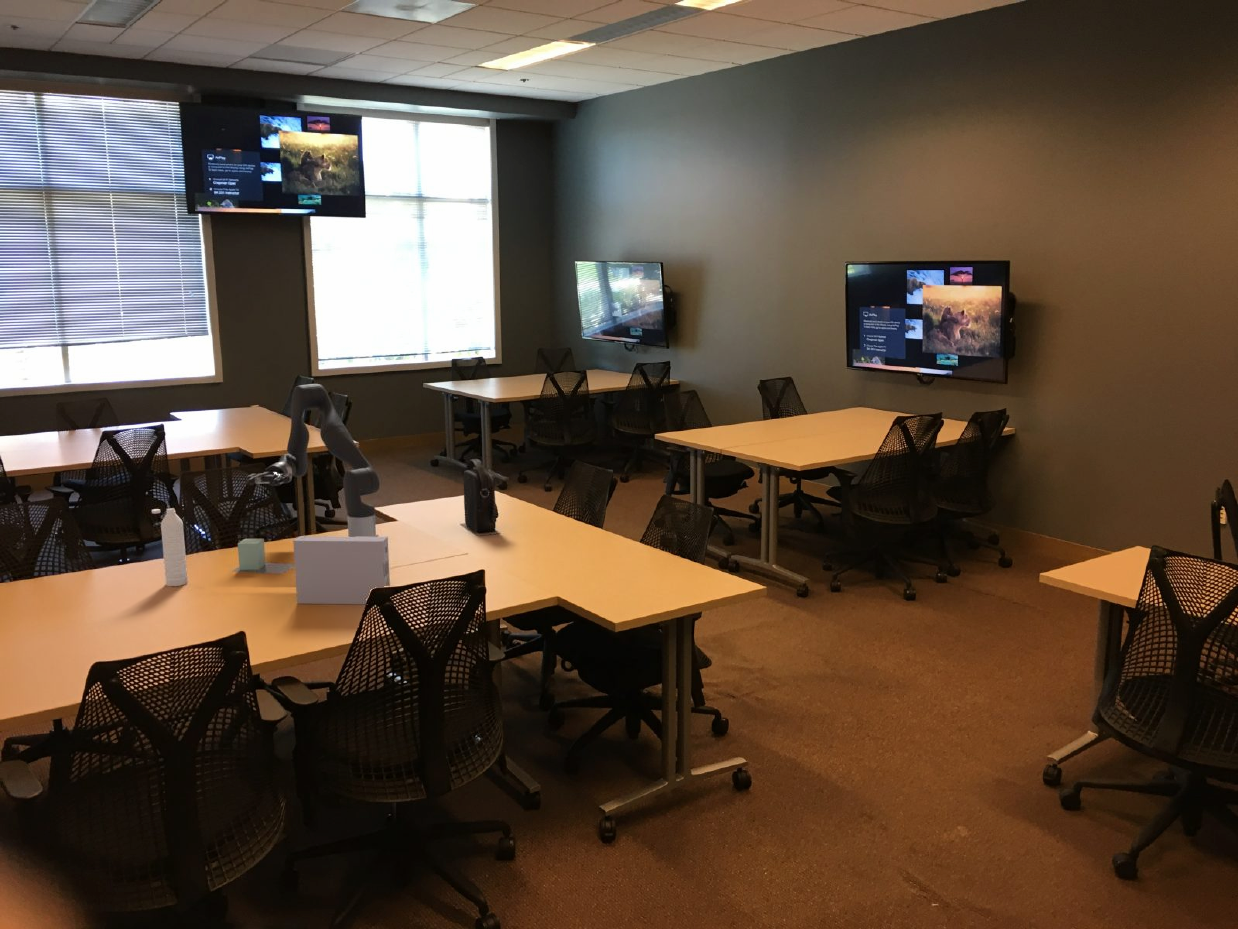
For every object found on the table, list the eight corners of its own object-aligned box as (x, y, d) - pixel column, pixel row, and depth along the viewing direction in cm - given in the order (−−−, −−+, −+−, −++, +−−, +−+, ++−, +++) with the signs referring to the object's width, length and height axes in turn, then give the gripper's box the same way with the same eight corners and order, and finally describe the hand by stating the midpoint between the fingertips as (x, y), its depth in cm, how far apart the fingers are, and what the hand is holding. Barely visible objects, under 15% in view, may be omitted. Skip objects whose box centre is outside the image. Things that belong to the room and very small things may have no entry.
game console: (303, 598, 306) (299, 535, 302) (390, 599, 305) (388, 536, 301) (296, 604, 300) (292, 540, 296) (385, 605, 299) (383, 541, 295)
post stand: (298, 568, 336) (296, 544, 335) (281, 578, 326) (279, 553, 324) (249, 566, 340) (247, 542, 338) (231, 575, 329) (229, 550, 327)
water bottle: (187, 579, 324) (181, 505, 319) (188, 585, 318) (182, 509, 314) (158, 583, 320) (151, 508, 316) (158, 588, 314) (151, 512, 310)
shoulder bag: (458, 523, 399) (456, 455, 394) (479, 521, 403) (478, 453, 398) (478, 536, 379) (476, 464, 374) (500, 533, 384) (499, 462, 378)
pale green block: (265, 564, 336) (263, 538, 335) (258, 569, 330) (256, 543, 328) (246, 564, 336) (244, 538, 335) (239, 569, 330) (237, 543, 328)
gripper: (257, 463, 355) (240, 471, 339) (297, 463, 355) (282, 471, 339) (259, 483, 357) (242, 493, 341) (298, 483, 357) (283, 493, 341)
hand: (262, 482), depth 340 cm, fingers open, 8 cm apart
